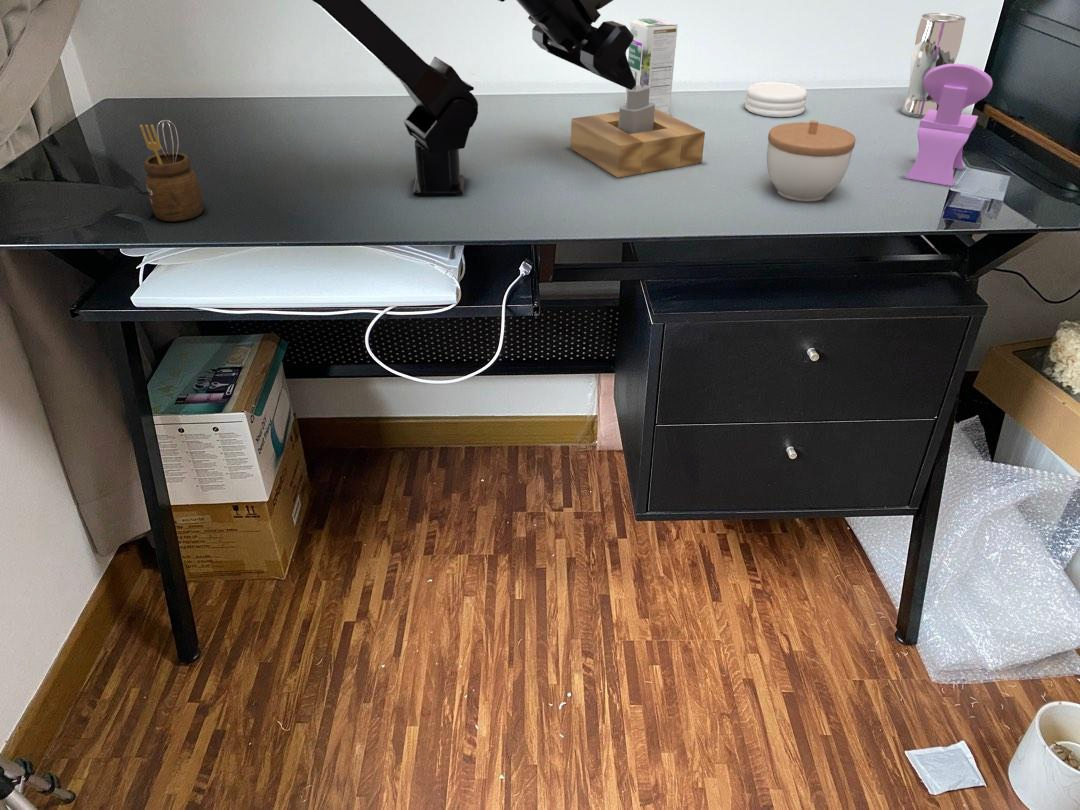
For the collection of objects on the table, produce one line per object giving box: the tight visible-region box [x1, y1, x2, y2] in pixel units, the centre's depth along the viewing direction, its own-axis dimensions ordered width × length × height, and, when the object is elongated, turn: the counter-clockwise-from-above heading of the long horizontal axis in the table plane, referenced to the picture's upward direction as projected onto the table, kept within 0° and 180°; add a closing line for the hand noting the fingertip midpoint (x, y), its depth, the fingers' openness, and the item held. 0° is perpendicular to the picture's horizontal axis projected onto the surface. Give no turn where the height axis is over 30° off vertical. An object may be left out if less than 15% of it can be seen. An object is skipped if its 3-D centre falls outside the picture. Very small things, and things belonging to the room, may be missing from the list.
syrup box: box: [624, 17, 678, 115], centre depth 139 cm, size 6×6×14 cm
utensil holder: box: [139, 119, 204, 223], centre depth 103 cm, size 6×6×12 cm
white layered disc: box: [744, 81, 808, 118], centre depth 144 cm, size 10×10×4 cm
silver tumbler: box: [900, 12, 967, 119], centre depth 140 cm, size 7×7×15 cm
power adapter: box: [618, 69, 655, 134], centre depth 122 cm, size 3×5×12 cm, turn 139°
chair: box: [904, 63, 994, 187], centre depth 115 cm, size 8×9×15 cm
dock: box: [570, 109, 706, 179], centre depth 124 cm, size 14×14×4 cm
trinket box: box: [766, 119, 857, 202], centre depth 110 cm, size 11×11×9 cm
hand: (616, 79), depth 118 cm, fingers open, 9 cm apart
